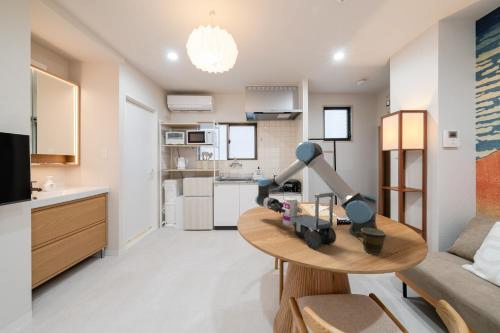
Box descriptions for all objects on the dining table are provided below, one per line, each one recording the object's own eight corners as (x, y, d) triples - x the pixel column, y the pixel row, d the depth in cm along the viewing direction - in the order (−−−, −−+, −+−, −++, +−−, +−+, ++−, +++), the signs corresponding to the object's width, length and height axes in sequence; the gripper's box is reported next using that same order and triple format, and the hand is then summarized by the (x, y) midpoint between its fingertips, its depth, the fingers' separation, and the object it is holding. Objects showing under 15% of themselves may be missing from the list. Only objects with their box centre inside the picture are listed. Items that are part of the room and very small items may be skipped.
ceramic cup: (378, 248, 104) (379, 228, 103) (389, 258, 94) (390, 235, 93) (350, 247, 105) (351, 227, 105) (359, 256, 95) (359, 234, 95)
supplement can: (287, 227, 120) (288, 200, 119) (279, 222, 127) (280, 197, 127) (299, 225, 123) (300, 199, 122) (291, 221, 130) (292, 197, 130)
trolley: (287, 236, 118) (288, 188, 117) (303, 232, 124) (304, 187, 123) (318, 251, 99) (319, 195, 98) (335, 246, 105) (337, 193, 104)
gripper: (284, 207, 146) (309, 215, 126) (258, 211, 135) (280, 220, 115) (284, 196, 145) (309, 203, 126) (258, 199, 135) (281, 206, 115)
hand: (295, 211), depth 121 cm, fingers closed on supplement can, 8 cm apart
